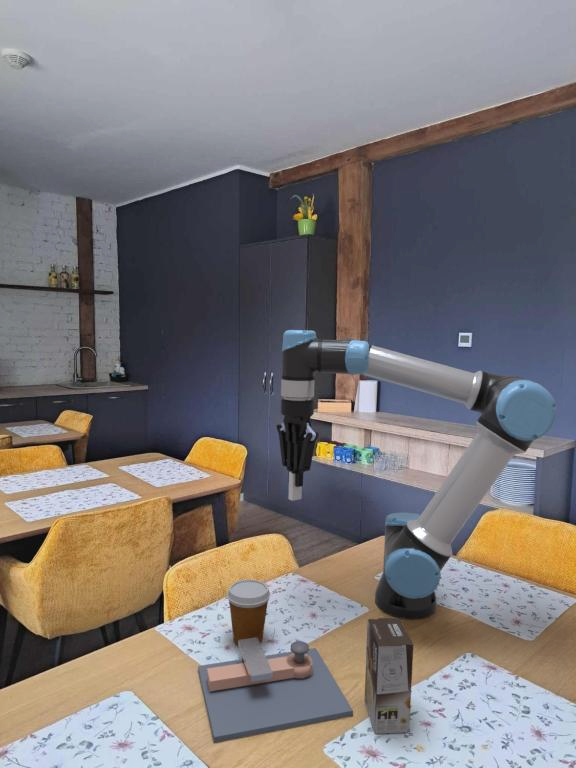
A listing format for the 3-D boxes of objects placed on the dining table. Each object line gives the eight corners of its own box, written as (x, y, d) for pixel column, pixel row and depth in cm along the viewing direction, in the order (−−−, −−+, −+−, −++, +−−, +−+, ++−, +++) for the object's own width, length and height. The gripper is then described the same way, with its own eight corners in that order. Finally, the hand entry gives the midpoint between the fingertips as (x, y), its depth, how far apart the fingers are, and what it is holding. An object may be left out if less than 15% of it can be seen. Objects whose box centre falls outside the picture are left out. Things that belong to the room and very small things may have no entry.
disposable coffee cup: (263, 655, 117) (264, 601, 115) (220, 649, 118) (221, 596, 117) (273, 631, 126) (274, 581, 125) (233, 626, 128) (234, 576, 126)
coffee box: (410, 733, 95) (415, 645, 94) (374, 734, 95) (378, 646, 93) (396, 697, 104) (399, 616, 103) (362, 698, 104) (366, 617, 102)
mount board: (315, 652, 118) (315, 647, 118) (352, 715, 99) (353, 710, 99) (198, 670, 111) (198, 665, 111) (214, 742, 92) (214, 737, 92)
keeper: (256, 662, 114) (257, 637, 113) (272, 700, 103) (272, 672, 102) (237, 665, 113) (238, 639, 112) (250, 704, 101) (251, 676, 101)
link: (307, 660, 113) (308, 637, 112) (315, 676, 108) (316, 651, 107) (206, 676, 107) (206, 652, 107) (210, 693, 102) (210, 668, 102)
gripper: (328, 400, 123) (325, 503, 125) (293, 393, 133) (291, 489, 136) (302, 402, 118) (299, 509, 121) (267, 395, 129) (265, 494, 131)
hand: (295, 498), depth 128 cm, fingers closed
